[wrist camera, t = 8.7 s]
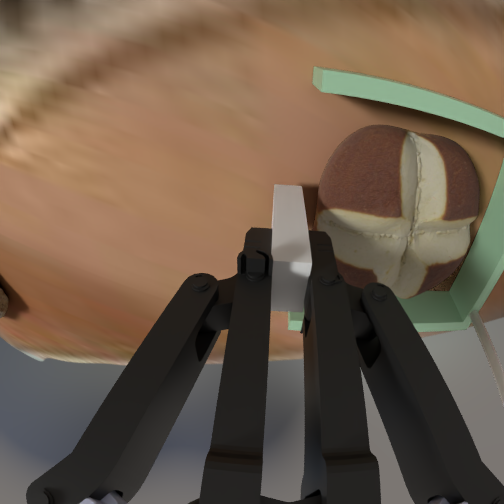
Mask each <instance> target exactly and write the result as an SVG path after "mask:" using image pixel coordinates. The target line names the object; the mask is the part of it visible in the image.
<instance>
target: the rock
mask: <svg viewBox="0 0 504 504" xmlns="http://www.w3.org/2000/svg"><path fill="white" fill-rule="evenodd" d="M7 309H8V298H7V296H6V294H5V293H4V292H3V290H2V289H1V288H0V318H1V317H4V315H5V313H6V311H7Z"/></svg>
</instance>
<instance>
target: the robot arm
mask: <svg viewBox="0 0 504 504" xmlns="http://www.w3.org/2000/svg"><path fill="white" fill-rule="evenodd" d="M237 271H238V273H237V274H236V275H234V276H233V277H231V278H228V279H224V280H218V281H217V279H216V278H215V277H214V276H212V275H210V274H206V273H198V274H194V275H192V276H189V277H188V278H187V279H186V280H185V281H184V283H183V284H182V285H181V287H180V288H179V290H178V291H177V293H176V294H175V295H174V297H173V298H172V300H171V301H170V303H169V304H168V305H167V307H166V308H165V310H164V311H163V313H162V314H161V316H160V317H159V318H158V320H157V321H156V323H155V324H154V326H153V327H152V329H151V330H150V332H149V333H148V335H147V336H146V338H145V339H144V341H143V342H142V344H141V345H140V347H139V348H138V349H137V351H136V352H135V354H134V355H133V357H132V359H131V360H130V362H129V363H128V365H127V366H126V368H125V369H124V371H123V372H122V374H121V375H120V377H119V378H118V380H117V381H116V383H115V384H114V386H113V388H112V389H111V391H110V392H109V394H108V395H107V397H106V399H105V400H104V402H103V403H102V405H101V406H100V408H99V410H98V411H97V413H96V414H95V416H94V418H93V419H92V421H91V422H90V424H89V426H88V427H87V429H86V431H85V432H84V434H83V435H82V437H81V439H80V440H79V442H78V444H77V445H76V447H75V449H74V450H73V452H72V453H71V454H69V455H68V456H67V457H66V458H64V459H63V460H62V461H60V462H59V463H58V464H56V465H55V466H54V467H52V468H51V469H50V470H49V471H47V472H46V473H44V474H43V475H42V476H40V477H39V478H38V479H36V480H35V481H34V482H32V483H31V485H30V486H29V487H28V490H27V493H26V499H27V504H127V503H128V502H129V501H130V500H131V499H132V498H133V497H134V495H135V494H136V493H137V492H138V490H139V489H140V487H141V486H142V484H143V483H144V481H145V479H146V477H147V475H148V473H149V472H150V470H151V468H152V466H153V464H154V462H155V460H156V458H157V456H158V454H159V452H160V450H161V448H162V446H163V445H164V443H165V441H166V439H167V437H168V435H169V433H170V431H171V429H172V427H173V425H174V423H175V421H176V419H177V417H178V416H179V413H180V411H181V410H182V408H183V406H184V404H185V402H186V400H187V398H188V396H189V394H190V392H191V390H192V388H193V386H194V384H195V382H196V380H197V378H198V376H199V374H200V372H201V370H202V368H203V367H204V365H205V363H206V361H207V359H208V357H209V355H210V353H211V351H212V349H213V347H214V345H215V343H216V341H217V339H218V337H219V335H220V333H221V330H225V329H229V330H228V336H227V342H226V349H225V355H224V361H223V368H222V374H221V382H220V387H219V393H218V400H217V407H216V413H215V420H214V426H213V433H212V440H211V446H210V450H209V452H208V454H207V457H206V461H205V466H204V472H203V479H202V486H201V493H200V498H199V499H196V500H194V501H192V502H190V503H188V504H381V496H380V495H381V493H380V478H379V477H380V475H379V465H378V461H377V459H376V457H375V456H374V455H373V454H372V453H371V451H370V448H369V437H368V427H367V417H366V408H365V401H364V392H363V385H362V377H361V370H362V372H363V375H364V377H365V379H366V382H367V384H368V387H369V389H370V391H371V394H372V396H373V399H374V401H375V404H376V406H377V409H378V411H379V414H380V416H381V419H382V422H383V424H384V426H385V429H386V432H387V434H388V436H389V440H390V442H391V445H392V448H393V450H394V453H395V455H396V459H397V461H398V464H399V467H400V470H401V473H402V475H403V478H404V481H405V484H406V487H407V489H408V491H409V494H410V496H411V498H412V500H413V501H414V503H415V504H504V486H503V485H502V484H501V482H500V481H499V480H498V479H497V478H496V477H495V476H494V475H493V473H492V472H491V471H490V470H489V469H488V468H487V467H486V466H485V464H484V463H483V462H482V461H481V458H480V456H479V453H478V451H477V449H476V446H475V444H474V442H473V439H472V437H471V435H470V432H469V430H468V428H467V426H466V424H465V421H464V419H463V417H462V415H461V413H460V411H459V409H458V407H457V405H456V402H455V401H454V399H453V397H452V394H451V392H450V390H449V388H448V387H447V385H446V383H445V381H444V379H443V377H442V375H441V373H440V371H439V370H438V368H437V366H436V364H435V362H434V360H433V358H432V356H431V355H430V353H429V351H428V349H427V348H426V346H425V344H424V342H423V341H422V339H421V337H420V335H419V334H418V332H417V330H416V328H415V327H414V325H413V323H412V322H411V320H410V318H409V317H408V315H407V313H406V312H405V310H404V309H403V307H402V305H401V304H400V302H399V301H398V299H397V297H396V296H395V294H394V293H393V291H392V290H391V289H390V288H389V287H388V286H386V285H384V284H381V283H375V282H372V283H369V284H367V285H366V286H365V287H364V289H362V288H358V287H355V286H352V285H350V284H348V283H346V282H345V280H344V278H343V276H342V275H341V274H340V273H339V272H338V269H337V264H336V259H335V254H334V250H333V246H332V241H331V238H330V236H329V235H328V234H327V233H326V232H324V231H310V230H308V226H307V219H306V211H305V204H304V197H303V191H302V186H293V185H279V184H274V199H273V215H272V229H269V228H252V227H251V229H250V230H249V231H248V232H247V233H246V237H245V243H244V249H243V251H242V252H240V253H239V255H238V257H237ZM303 308H304V318H303V323H302V327H301V332H300V333H303V346H304V388H305V455H304V475H303V480H302V485H301V500H299V501H295V502H284V501H280V500H276V499H272V498H268V497H265V496H261V495H260V493H261V480H262V464H263V440H264V425H265V409H266V392H267V374H268V355H269V335H270V313H271V311H286V312H303ZM360 367H361V370H360Z"/></svg>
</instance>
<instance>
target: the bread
mask: <svg viewBox="0 0 504 504" xmlns="http://www.w3.org/2000/svg"><path fill="white" fill-rule="evenodd" d="M479 197H480V189H479V182H478V177H477V174H476V171H475V168H474V166H473V163H472V161H471V159H470V158H469V156H468V154H467V153H466V152H465V150H464V149H463V148H462V147H461V146H460V145H459V144H457V143H456V142H454V141H452V140H450V139H448V138H445V137H442V136H437V135H430V134H419V133H416V132H412V131H409V130H406V129H402V128H398V127H394V126H388V125H371V126H368V127H364V128H361V129H359V130H358V131H356V132H354V133H352V134H351V135H350V136H348V137H347V138H346V139H345V140H344V141H343V142H342V143H341V144H340V145H339V146H338V148H337V149H336V150H335V152H334V153H333V154H332V156H331V157H330V159H329V160H328V163H327V165H326V167H325V169H324V171H323V175H322V178H321V180H320V184H319V190H318V198H317V209H316V216H315V221H314V224H313V229H312V231H324V232H326V233H327V234H328V235H329V236H330V238H331V241H332V246H333V250H334V254H335V259H336V264H337V269H338V272H339V273H340V274H341V275H342V276H343V278H344V280H345V282H346V283H348V284H350V285H352V286H355V287H358V288H362V289H364V287H365V286H366V285H367V284H369V283H372V282H375V283H381V284H384V285H386V286H388V287H389V288H390V289H391V290H392V291H393V293H394V294H395V295H396V296H397V297H399V298H402V299H409V298H412V297H414V296H417V295H419V294H421V293H423V292H425V291H427V290H430V289H432V288H433V287H435V286H436V285H438V284H439V283H441V282H442V281H444V280H445V279H446V278H447V277H449V276H450V275H451V274H452V273H453V272H454V271H455V270H456V268H457V267H458V266H459V265H460V263H461V262H462V260H463V258H464V257H465V255H466V253H467V251H468V248H469V246H470V241H471V240H470V223H472V222H473V221H474V220H475V219H476V218H477V216H478V210H479Z"/></svg>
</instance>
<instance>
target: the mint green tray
mask: <svg viewBox="0 0 504 504" xmlns="http://www.w3.org/2000/svg"><path fill="white" fill-rule="evenodd" d="M312 84H313V85H314V86H315V87H316V88H318V89H319V90H320V91H321V92H326V93H334V94H341V95H347V96H354V97H360V98H365V99H371V100H376V101H381V102H386V103H391V104H395V105H400V106H404V107H408V108H412V109H416V110H420V111H424V112H428V113H432V114H435V115H439V116H442V117H445V118H449V119H452V120H455V121H458V122H461V123H465V124H467V125H470V126H473V127H476V128H479V129H482V130H485V131H487V132H490V133H492V134H495V135H498V136H500V137H503V138H504V117H502V116H500V115H498V114H495V113H493V112H490V111H488V110H486V109H483V108H481V107H478V106H476V105H473V104H470V103H468V102H465V101H462V100H459V99H457V98H454V97H451V96H448V95H445V94H442V93H438V92H435V91H432V90H429V89H425V88H422V87H418V86H415V85H411V84H407V83H403V82H399V81H395V80H391V79H386V78H382V77H377V76H372V75H367V74H362V73H356V72H351V71H345V70H338V69H331V68H324V67H316V66H314V70H313V83H312ZM503 270H504V160H503V163H502V166H501V170H500V173H499V176H498V179H497V182H496V185H495V188H494V191H493V194H492V197H491V200H490V202H489V205H488V208H487V210H486V213H485V215H484V218H483V220H482V223H481V225H480V228H479V230H478V232H477V235H476V237H475V239H474V242H473V244H472V246H471V248H470V250H469V253H468V255H467V257H466V259H465V261H464V263H463V265H462V267H461V269H460V271H459V273H458V275H457V277H456V279H455V281H454V283H453V285H452V287H451V288H450V290H449V291H425V292H423V293H421V294H419V295H417V296H414V297H412V298H409V299H402V298H399V297H397V296H396V295H395V296H396V297H397V299H398V301H399V302H400V304H401V305H402V307H403V309H404V310H405V312H406V313H407V315H408V317H409V318H410V320H411V322H412V323H413V325H414V327H415V328H416V330H417V332H431V331H453V330H466V329H467V328H468V326H469V325H470V324H471V322H472V323H473V325H474V328H475V330H476V332H477V335H478V337H479V339H480V342H481V344H482V346H483V349H484V351H485V354H486V357H487V359H488V362H489V364H490V367H491V370H492V373H493V376H494V378H495V381H496V384H497V387H498V390H499V393H500V397H501V400H502V403H503V406H504V372H503V369H502V366H501V363H500V361H499V358H498V356H497V354H496V351H495V348H494V346H493V344H492V341H491V339H490V337H489V335H488V332H487V330H486V328H485V326H484V324H483V321H482V319H481V317H480V315H479V313H478V312H479V310H480V309H481V307H482V306H483V304H484V302H485V301H486V299H487V298H488V296H489V294H490V293H491V291H492V289H493V288H494V286H495V284H496V283H497V281H498V279H499V277H500V276H501V274H502V272H503ZM303 318H304V308H303V312H288V330H301V327H302V323H303Z"/></svg>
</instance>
